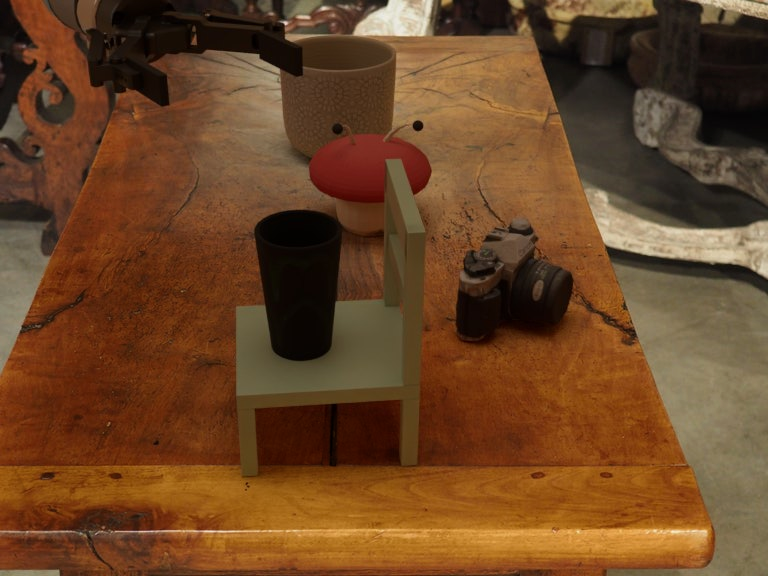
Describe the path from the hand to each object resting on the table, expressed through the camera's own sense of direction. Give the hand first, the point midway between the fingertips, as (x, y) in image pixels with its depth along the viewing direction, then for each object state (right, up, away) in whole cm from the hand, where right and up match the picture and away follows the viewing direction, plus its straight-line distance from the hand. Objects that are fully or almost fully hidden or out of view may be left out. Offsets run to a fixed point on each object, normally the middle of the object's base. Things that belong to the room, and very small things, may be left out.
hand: (234, 76), depth 94 cm
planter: (+6, +2, +68) cm, 68 cm away
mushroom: (+11, -10, +47) cm, 49 cm away
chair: (+7, -32, +9) cm, 34 cm away
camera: (+28, -22, +27) cm, 45 cm away
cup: (+6, -24, +5) cm, 25 cm away
